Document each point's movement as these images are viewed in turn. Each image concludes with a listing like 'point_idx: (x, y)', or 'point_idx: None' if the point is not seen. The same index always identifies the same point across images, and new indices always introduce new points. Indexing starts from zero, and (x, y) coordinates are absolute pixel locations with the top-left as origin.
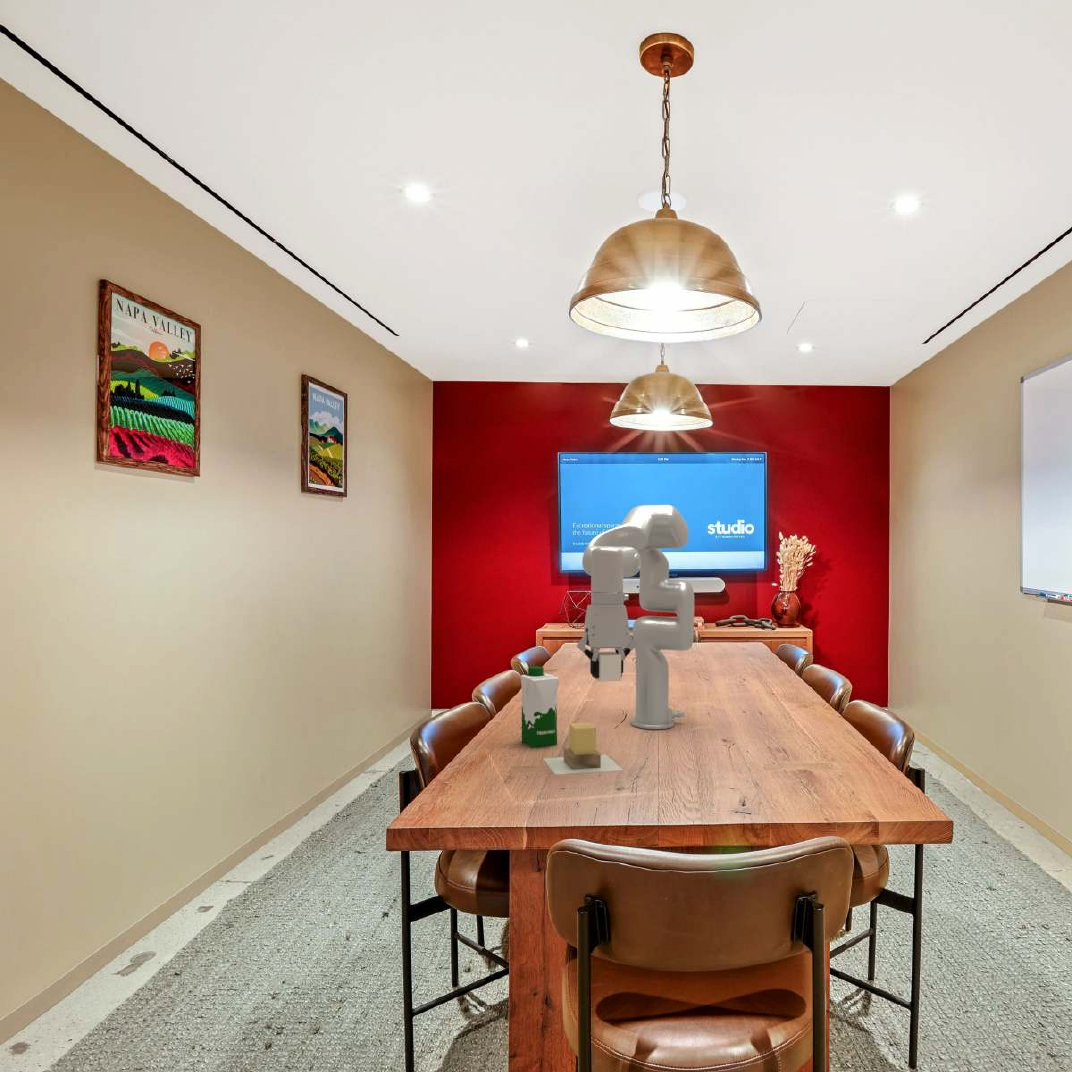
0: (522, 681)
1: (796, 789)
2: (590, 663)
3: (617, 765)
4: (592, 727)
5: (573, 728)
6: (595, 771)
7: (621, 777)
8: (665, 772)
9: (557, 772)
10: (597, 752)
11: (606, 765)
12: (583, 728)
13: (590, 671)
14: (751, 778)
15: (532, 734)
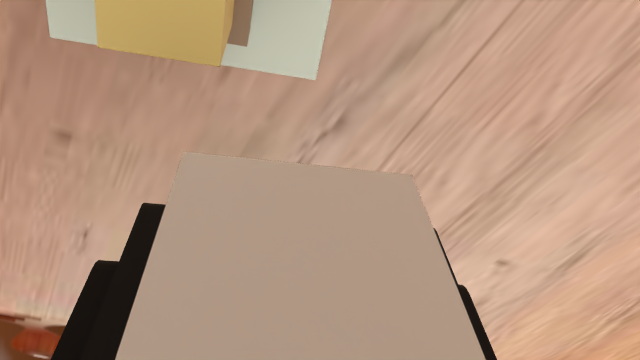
0: None
1: (613, 301)
2: (56, 351)
3: (324, 29)
4: (205, 52)
5: (97, 11)
6: None
7: (287, 114)
8: (445, 122)
9: (62, 19)
10: (247, 11)
11: (283, 13)
12: (149, 52)
13: (93, 270)
14: (604, 230)
15: None
